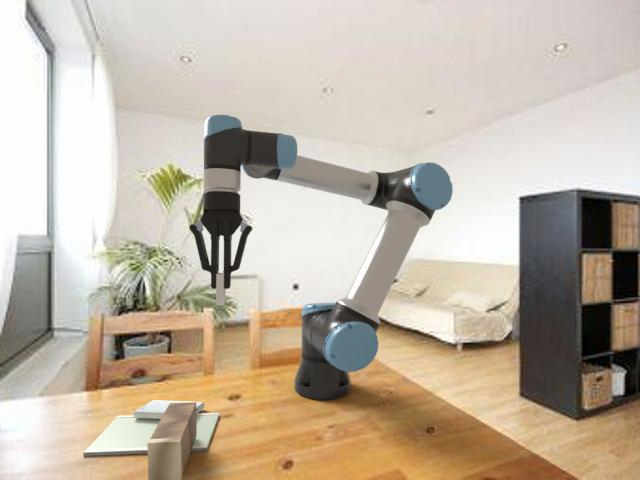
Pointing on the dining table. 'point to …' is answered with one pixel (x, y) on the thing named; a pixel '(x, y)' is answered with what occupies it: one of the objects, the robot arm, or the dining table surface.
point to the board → (144, 435)
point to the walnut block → (172, 442)
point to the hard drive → (160, 409)
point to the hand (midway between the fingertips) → (220, 304)
